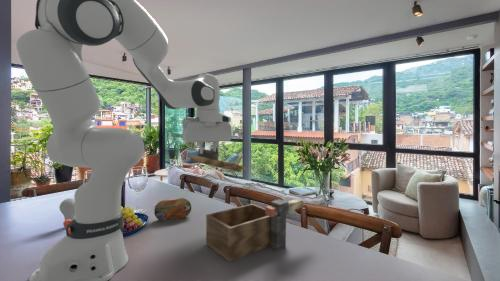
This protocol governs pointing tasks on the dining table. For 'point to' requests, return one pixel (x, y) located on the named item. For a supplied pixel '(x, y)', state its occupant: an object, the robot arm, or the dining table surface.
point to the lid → (214, 161)
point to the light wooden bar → (292, 206)
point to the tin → (172, 209)
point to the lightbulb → (68, 208)
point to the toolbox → (246, 230)
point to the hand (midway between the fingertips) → (208, 153)
